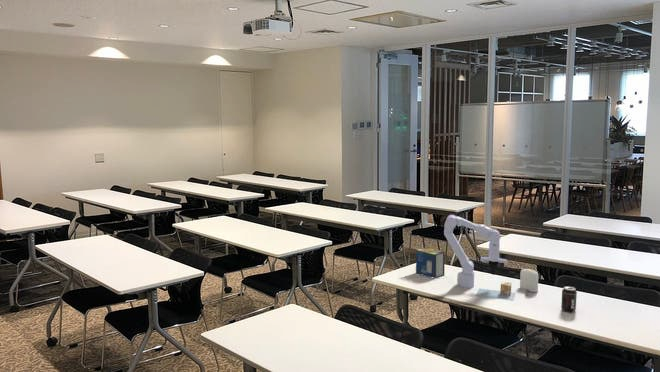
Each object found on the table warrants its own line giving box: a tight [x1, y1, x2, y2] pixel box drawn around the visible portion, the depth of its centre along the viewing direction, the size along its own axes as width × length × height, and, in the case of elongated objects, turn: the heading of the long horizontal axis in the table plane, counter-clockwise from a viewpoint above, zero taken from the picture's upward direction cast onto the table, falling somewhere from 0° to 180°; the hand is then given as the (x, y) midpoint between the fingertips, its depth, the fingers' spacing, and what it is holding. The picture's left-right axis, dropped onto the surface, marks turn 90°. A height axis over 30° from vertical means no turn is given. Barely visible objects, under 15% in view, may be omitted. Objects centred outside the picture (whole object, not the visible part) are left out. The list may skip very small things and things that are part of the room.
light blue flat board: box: [474, 288, 517, 302], centre depth 291 cm, size 20×14×1 cm
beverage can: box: [560, 286, 578, 313], centre depth 268 cm, size 7×7×12 cm
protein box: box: [415, 247, 446, 278], centre depth 334 cm, size 10×15×16 cm
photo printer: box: [519, 268, 539, 293], centre depth 301 cm, size 10×4×12 cm, turn 39°
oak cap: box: [499, 281, 512, 296], centre depth 292 cm, size 5×5×6 cm
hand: (493, 274), depth 302 cm, fingers closed
